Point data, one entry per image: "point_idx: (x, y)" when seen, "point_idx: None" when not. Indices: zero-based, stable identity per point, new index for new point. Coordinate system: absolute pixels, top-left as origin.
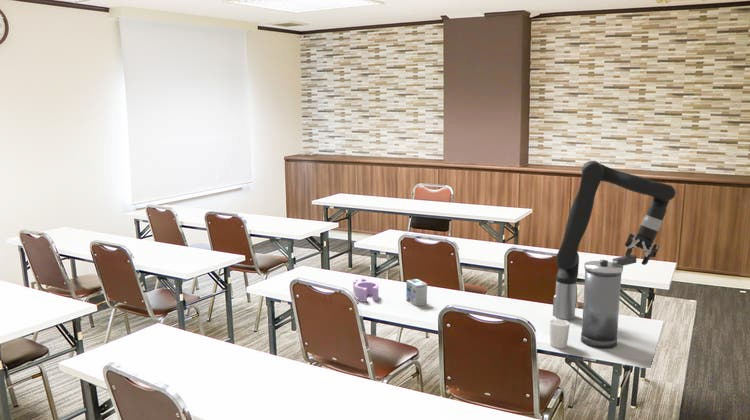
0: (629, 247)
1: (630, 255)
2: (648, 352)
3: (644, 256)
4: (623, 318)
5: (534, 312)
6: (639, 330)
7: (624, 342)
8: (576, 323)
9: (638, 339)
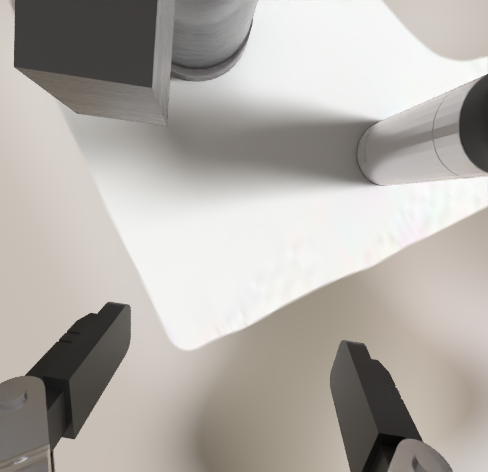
0: (412, 466)
1: (131, 7)
2: None
3: (71, 375)
4: (259, 289)
5: None
6: (168, 229)
7: None
8: (329, 127)
9: (125, 148)
